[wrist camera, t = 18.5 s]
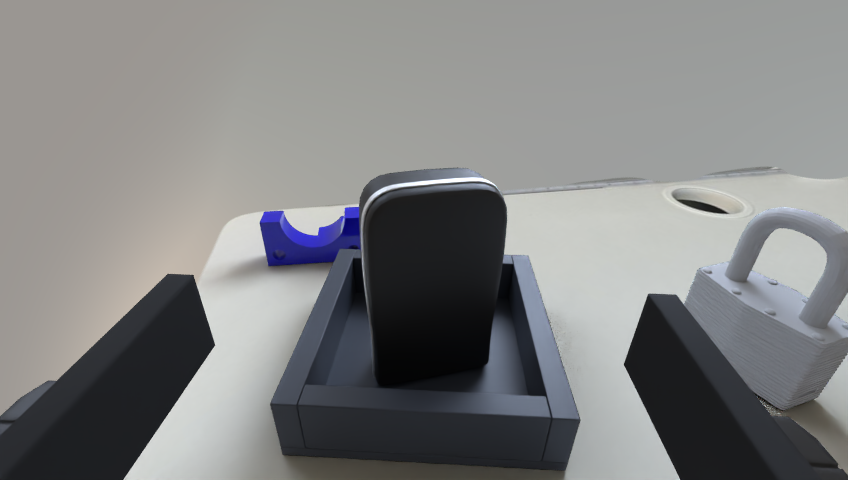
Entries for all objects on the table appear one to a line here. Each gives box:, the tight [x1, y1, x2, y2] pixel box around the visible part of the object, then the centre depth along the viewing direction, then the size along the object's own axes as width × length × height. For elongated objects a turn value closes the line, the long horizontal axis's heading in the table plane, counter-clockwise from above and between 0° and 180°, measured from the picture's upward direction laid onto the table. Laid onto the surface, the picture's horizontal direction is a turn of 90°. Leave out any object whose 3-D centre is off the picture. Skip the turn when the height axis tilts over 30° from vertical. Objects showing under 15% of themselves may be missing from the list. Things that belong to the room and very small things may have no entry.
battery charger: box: [359, 168, 507, 385], centre depth 22 cm, size 7×4×11 cm, turn 105°
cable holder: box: [260, 207, 360, 266], centre depth 35 cm, size 8×4×4 cm, turn 98°
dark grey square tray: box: [270, 249, 580, 470], centre depth 25 cm, size 13×13×4 cm
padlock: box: [684, 207, 848, 410], centre depth 23 cm, size 7×4×10 cm, turn 19°
